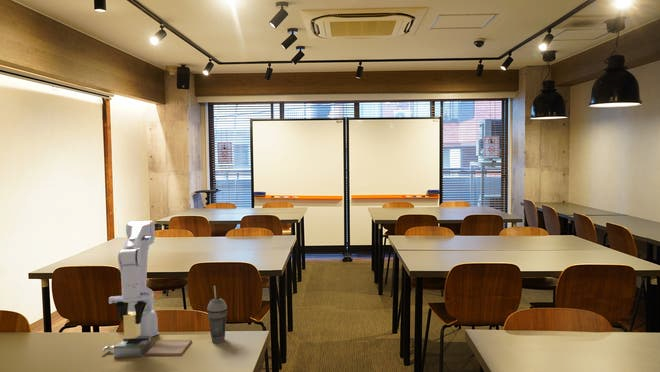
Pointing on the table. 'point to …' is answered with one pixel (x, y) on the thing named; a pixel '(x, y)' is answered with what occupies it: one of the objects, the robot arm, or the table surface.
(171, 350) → the board
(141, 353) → the vise
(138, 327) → the peg
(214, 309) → the beverage cup
